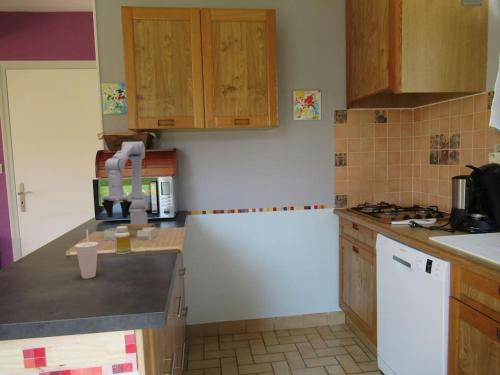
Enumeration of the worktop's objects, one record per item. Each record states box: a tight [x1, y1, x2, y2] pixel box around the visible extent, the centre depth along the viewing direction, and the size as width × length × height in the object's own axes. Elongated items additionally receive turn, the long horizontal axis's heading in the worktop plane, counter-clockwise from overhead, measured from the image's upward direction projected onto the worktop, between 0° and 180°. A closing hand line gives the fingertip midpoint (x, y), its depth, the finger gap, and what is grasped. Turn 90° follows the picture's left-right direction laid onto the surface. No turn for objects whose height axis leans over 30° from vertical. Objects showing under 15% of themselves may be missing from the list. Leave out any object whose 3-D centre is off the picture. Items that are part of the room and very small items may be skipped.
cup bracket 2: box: [136, 227, 157, 241], centre depth 154 cm, size 7×6×4 cm
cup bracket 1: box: [103, 227, 117, 241], centre depth 155 cm, size 7×6×4 cm
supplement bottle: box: [114, 226, 132, 255], centre depth 130 cm, size 5×5×10 cm
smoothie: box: [74, 229, 100, 280], centre depth 102 cm, size 6×6×14 cm
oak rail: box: [116, 223, 155, 237], centre depth 161 cm, size 4×16×5 cm, turn 87°
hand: (117, 217), depth 151 cm, fingers open, 7 cm apart
